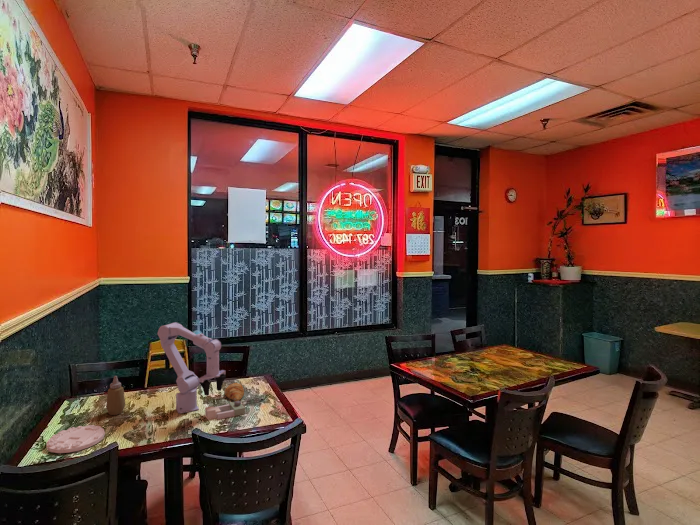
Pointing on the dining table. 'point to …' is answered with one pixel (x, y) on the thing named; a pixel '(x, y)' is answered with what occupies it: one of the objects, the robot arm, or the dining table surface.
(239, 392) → the croissant
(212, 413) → the pink stepped block
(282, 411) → the dining table surface
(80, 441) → the embossed medallion
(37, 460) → the dining table surface
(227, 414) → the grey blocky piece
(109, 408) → the squeeze bottle
